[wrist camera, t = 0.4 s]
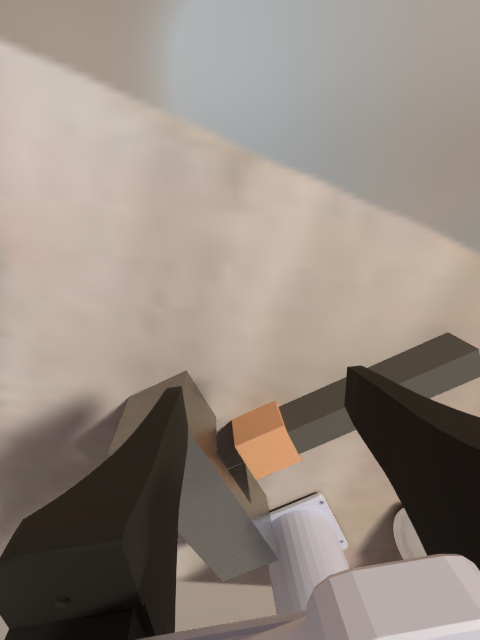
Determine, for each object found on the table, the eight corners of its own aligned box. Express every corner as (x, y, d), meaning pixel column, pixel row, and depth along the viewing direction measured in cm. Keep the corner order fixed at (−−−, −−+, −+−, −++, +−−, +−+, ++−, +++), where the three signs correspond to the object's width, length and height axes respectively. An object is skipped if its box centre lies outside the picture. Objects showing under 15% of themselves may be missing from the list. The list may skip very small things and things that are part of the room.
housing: (266, 496, 29) (278, 559, 24) (219, 515, 29) (222, 582, 24) (186, 370, 23) (180, 419, 18) (129, 397, 23) (107, 452, 18)
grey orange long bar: (453, 363, 25) (483, 383, 23) (250, 450, 27) (255, 480, 24) (446, 324, 24) (477, 340, 21) (231, 419, 25) (234, 446, 22)
